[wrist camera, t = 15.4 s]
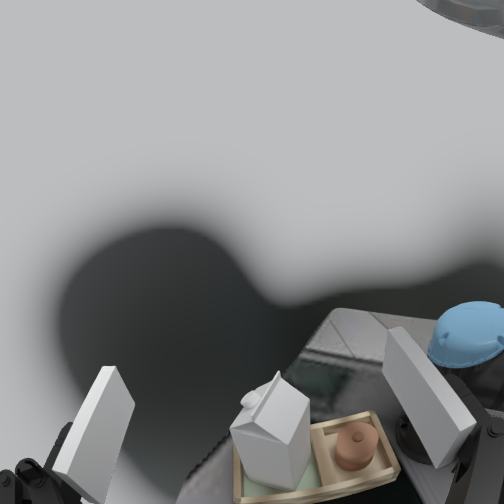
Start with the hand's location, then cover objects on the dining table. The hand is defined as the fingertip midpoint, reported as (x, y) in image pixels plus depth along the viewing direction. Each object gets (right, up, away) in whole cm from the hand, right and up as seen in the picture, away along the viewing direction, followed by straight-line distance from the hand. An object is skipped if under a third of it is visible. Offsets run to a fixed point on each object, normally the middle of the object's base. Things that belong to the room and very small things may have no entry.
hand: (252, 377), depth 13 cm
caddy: (+9, -27, +22) cm, 36 cm away
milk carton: (+4, -27, +22) cm, 35 cm away
